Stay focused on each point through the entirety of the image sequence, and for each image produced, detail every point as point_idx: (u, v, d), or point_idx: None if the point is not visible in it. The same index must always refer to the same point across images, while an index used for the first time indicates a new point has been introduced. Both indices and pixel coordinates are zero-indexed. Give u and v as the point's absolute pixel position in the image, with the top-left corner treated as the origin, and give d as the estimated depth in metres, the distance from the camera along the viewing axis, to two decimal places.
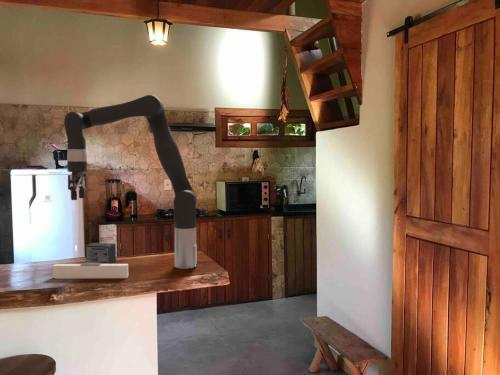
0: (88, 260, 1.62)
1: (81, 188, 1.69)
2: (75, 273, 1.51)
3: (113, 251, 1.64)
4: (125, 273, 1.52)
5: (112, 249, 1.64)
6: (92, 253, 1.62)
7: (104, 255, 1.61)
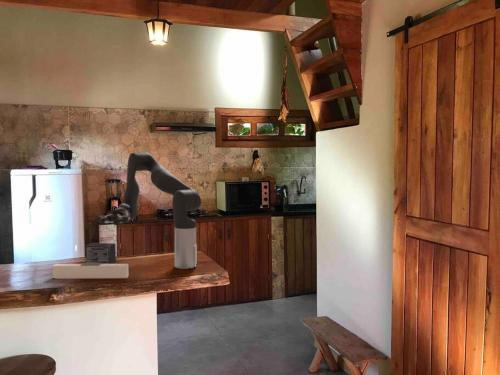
0: (88, 260, 1.62)
1: None
2: (75, 273, 1.51)
3: (113, 251, 1.64)
4: (125, 273, 1.52)
5: (112, 249, 1.64)
6: (92, 253, 1.62)
7: (104, 255, 1.61)
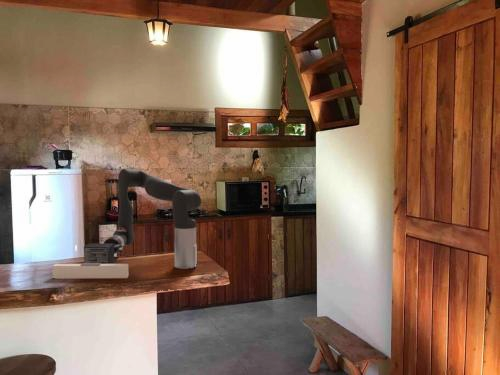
0: (86, 261, 1.60)
1: None
2: (75, 273, 1.51)
3: (111, 252, 1.63)
4: (125, 273, 1.52)
5: (111, 250, 1.62)
6: (90, 254, 1.60)
7: (103, 256, 1.60)
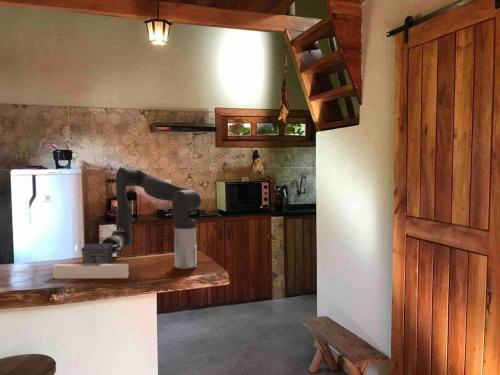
0: None
1: None
2: (75, 273, 1.51)
3: (110, 252, 1.61)
4: (125, 273, 1.52)
5: (109, 251, 1.60)
6: (89, 256, 1.57)
7: (103, 257, 1.57)
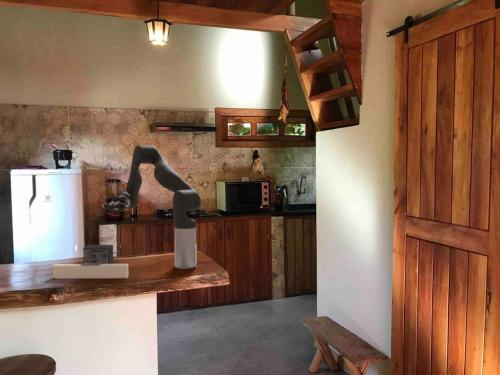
0: (86, 262, 1.58)
1: None
2: (75, 273, 1.51)
3: (111, 253, 1.62)
4: (125, 273, 1.52)
5: (111, 251, 1.61)
6: (90, 256, 1.58)
7: (104, 257, 1.59)
